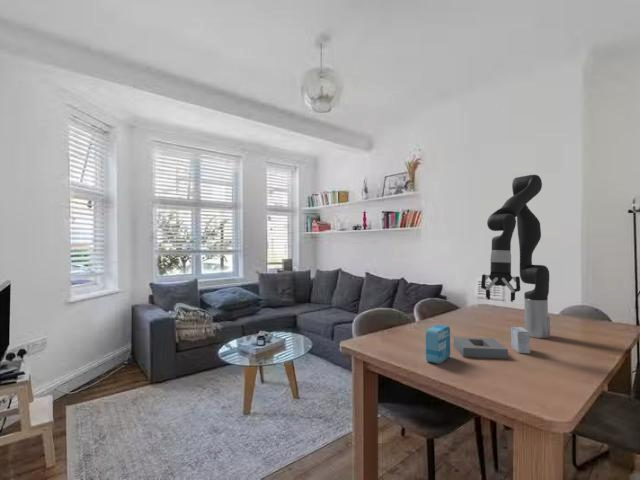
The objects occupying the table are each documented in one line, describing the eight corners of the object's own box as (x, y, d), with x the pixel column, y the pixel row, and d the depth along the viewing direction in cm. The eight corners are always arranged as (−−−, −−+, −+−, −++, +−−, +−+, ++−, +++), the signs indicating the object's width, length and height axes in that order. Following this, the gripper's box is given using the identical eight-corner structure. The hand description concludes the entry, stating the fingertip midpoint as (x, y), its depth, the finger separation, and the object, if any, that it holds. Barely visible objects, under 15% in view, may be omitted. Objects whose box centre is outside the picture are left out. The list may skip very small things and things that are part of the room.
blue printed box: (437, 365, 120) (437, 331, 120) (425, 362, 123) (425, 329, 123) (450, 356, 129) (450, 325, 129) (439, 354, 132) (438, 323, 132)
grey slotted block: (493, 346, 141) (493, 338, 141) (507, 358, 126) (507, 349, 126) (453, 345, 143) (453, 337, 143) (463, 356, 129) (463, 347, 129)
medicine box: (530, 353, 131) (530, 331, 132) (518, 353, 132) (517, 331, 132) (522, 347, 139) (522, 327, 139) (510, 347, 140) (510, 326, 140)
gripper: (521, 262, 139) (520, 301, 138) (483, 260, 147) (482, 297, 146) (519, 262, 133) (519, 303, 132) (480, 260, 141) (479, 299, 140)
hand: (500, 300), depth 139 cm, fingers open, 8 cm apart
